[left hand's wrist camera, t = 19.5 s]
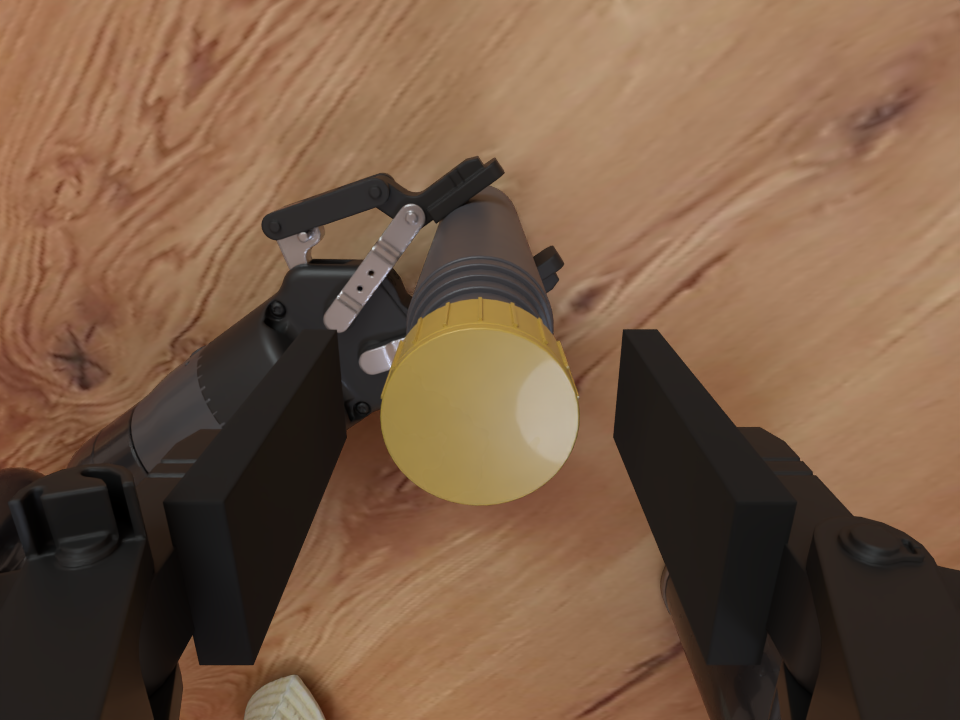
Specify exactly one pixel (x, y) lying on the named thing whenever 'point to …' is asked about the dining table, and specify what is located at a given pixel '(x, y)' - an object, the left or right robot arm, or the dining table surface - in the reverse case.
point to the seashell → (283, 702)
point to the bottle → (480, 261)
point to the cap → (479, 403)
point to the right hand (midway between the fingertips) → (527, 211)
